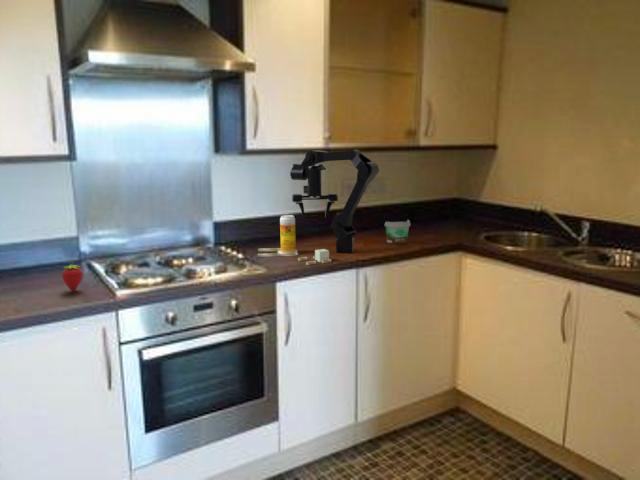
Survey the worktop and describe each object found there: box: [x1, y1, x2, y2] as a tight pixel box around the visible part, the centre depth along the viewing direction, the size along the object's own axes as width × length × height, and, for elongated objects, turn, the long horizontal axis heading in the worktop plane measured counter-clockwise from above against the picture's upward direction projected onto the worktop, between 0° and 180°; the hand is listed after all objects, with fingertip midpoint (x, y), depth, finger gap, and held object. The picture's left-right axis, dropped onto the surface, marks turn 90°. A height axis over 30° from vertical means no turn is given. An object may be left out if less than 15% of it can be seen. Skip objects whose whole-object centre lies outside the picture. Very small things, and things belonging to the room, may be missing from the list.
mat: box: [277, 249, 299, 256], centre depth 226 cm, size 8×8×1 cm
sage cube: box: [314, 248, 330, 263], centre depth 213 cm, size 4×4×4 cm
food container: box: [384, 219, 411, 245], centre depth 243 cm, size 12×6×10 cm, turn 114°
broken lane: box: [297, 255, 332, 266], centre depth 212 cm, size 10×8×1 cm
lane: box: [257, 247, 296, 258], centre depth 226 cm, size 15×11×1 cm
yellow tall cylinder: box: [279, 214, 297, 253], centre depth 225 cm, size 6×6×15 cm
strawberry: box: [61, 262, 84, 293], centre depth 173 cm, size 6×8×10 cm
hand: (314, 217), depth 233 cm, fingers open, 9 cm apart
